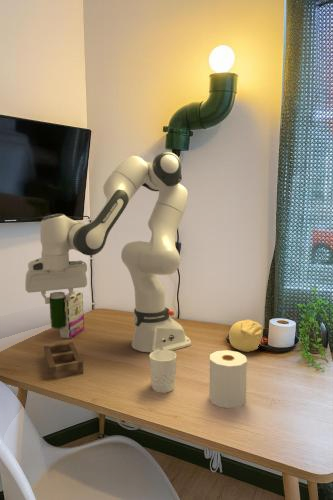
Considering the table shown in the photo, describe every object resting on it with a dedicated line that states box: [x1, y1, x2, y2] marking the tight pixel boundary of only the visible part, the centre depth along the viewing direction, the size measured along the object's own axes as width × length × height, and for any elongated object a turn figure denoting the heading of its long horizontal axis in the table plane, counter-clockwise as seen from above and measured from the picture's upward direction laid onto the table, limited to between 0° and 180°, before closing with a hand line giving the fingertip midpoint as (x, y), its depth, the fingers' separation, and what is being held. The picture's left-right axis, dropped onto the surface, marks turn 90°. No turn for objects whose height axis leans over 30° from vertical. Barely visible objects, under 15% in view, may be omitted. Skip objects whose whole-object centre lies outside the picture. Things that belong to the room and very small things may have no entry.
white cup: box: [148, 350, 177, 394], centre depth 113 cm, size 8×8×10 cm
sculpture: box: [228, 319, 264, 353], centre depth 141 cm, size 12×12×11 cm
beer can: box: [48, 291, 67, 331], centre depth 132 cm, size 5×5×12 cm
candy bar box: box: [59, 290, 85, 340], centre depth 156 cm, size 11×5×16 cm, turn 161°
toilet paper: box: [208, 349, 248, 409], centre depth 107 cm, size 10×10×12 cm
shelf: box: [43, 341, 84, 381], centre depth 128 cm, size 10×18×4 cm, turn 24°
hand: (57, 302), depth 131 cm, fingers closed on beer can, 5 cm apart
